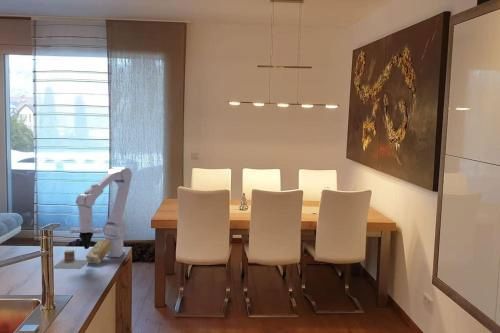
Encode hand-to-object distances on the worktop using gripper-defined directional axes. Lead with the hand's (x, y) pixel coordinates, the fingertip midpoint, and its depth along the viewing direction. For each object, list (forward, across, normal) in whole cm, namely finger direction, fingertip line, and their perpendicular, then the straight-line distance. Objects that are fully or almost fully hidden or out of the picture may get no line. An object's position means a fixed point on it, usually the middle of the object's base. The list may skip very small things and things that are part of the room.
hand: (86, 248), depth 222 cm
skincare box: (+6, +2, +1) cm, 6 cm away
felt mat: (+8, -8, 0) cm, 11 cm away
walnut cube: (+8, -11, +7) cm, 15 cm away
